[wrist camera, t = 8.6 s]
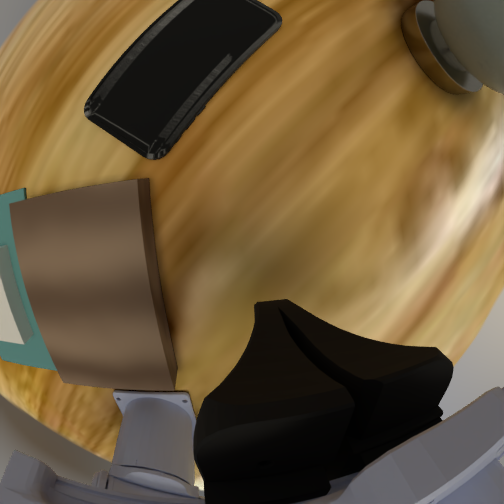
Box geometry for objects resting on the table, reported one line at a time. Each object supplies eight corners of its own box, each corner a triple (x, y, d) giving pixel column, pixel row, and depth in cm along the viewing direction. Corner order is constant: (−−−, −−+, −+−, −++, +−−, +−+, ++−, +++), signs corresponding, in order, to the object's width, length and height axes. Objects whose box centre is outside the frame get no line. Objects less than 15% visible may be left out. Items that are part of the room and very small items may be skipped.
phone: (78, 112, 14) (209, -23, 12) (84, 115, 15) (208, -16, 13) (157, 166, 16) (289, 19, 14) (161, 167, 18) (285, 26, 15)
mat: (73, 370, 21) (72, 372, 20) (3, 358, 19) (2, 359, 19) (25, 187, 16) (23, 188, 15) (-40, 209, 14) (-42, 209, 14)
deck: (177, 367, 22) (174, 390, 19) (74, 363, 20) (63, 382, 18) (148, 178, 17) (137, 179, 14) (30, 198, 16) (9, 203, 13)
